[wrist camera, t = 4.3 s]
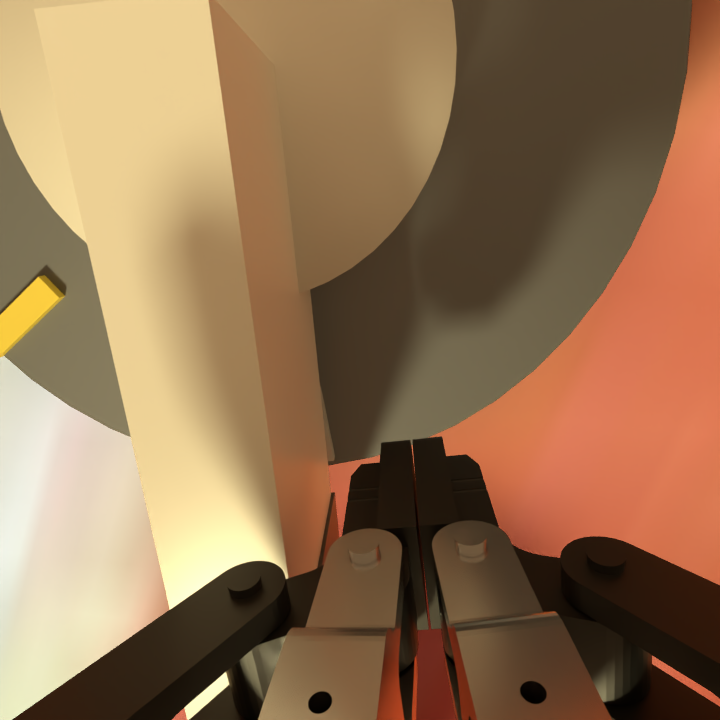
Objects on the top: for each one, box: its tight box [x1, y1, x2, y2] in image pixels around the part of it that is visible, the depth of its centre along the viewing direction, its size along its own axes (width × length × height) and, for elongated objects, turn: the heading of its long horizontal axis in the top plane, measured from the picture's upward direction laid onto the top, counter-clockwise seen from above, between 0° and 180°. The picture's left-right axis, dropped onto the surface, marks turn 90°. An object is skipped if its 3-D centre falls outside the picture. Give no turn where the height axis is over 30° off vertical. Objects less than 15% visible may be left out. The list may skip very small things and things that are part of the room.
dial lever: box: [0, 0, 457, 720], centre depth 11 cm, size 18×10×7 cm, turn 4°
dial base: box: [0, 0, 692, 465], centre depth 14 cm, size 22×22×2 cm
